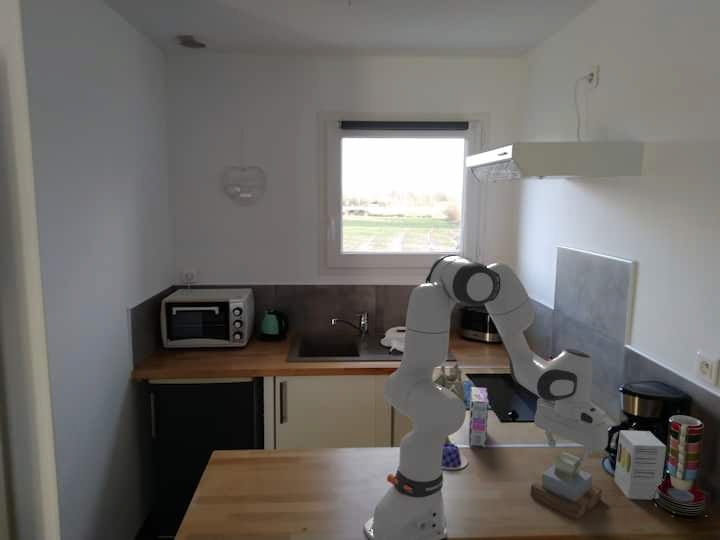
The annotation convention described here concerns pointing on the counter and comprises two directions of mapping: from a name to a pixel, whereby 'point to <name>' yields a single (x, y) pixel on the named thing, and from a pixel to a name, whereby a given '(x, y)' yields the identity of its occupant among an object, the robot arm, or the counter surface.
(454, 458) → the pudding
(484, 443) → the candy box
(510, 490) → the counter surface
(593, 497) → the walnut slab
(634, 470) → the supplement box
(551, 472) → the grey slab
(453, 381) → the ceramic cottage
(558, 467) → the sage block
